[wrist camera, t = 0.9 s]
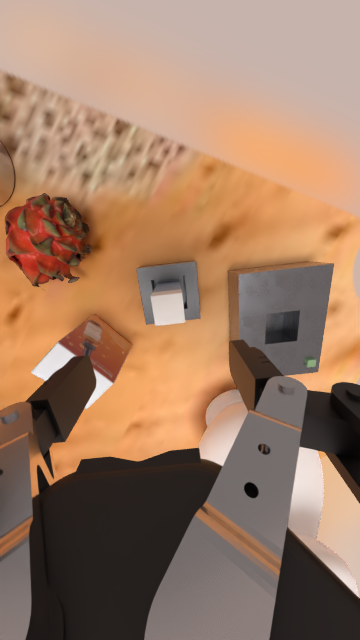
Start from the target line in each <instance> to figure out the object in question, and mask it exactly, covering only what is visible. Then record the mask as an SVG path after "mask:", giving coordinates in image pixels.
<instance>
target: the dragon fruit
mask: <svg viewBox="0 0 360 640" xmlns="http://www.w3.org/2000/svg"><path fill="white" fill-rule="evenodd" d="M68 201H69V200H67V198H62V197H54V198H53V199H52V200H51V201H50V197H49V196H48V195H47V194H46V193H44V194H42V195H40V196H37V197H31V198H29V199H27V201H26V205H24V206H22V207H15V208H13V209H12V210H10V211H9V212H8V213H7V215H6V217H5V223H6V234H8V236H7V238H6V254H7V256H8V258H9V259H10V260H12V261H13V262H15V263H16V264H17V265H18V267H19V268H20V269H21V270H22V271H23V273H24V274H25V275H26V277H27V278H28V279H29V280H30V282H31V283H32V285H33V286H37V287H39V285H38V284H44V283H47V282H48V281H49V279H52V280H54V279H56V278H58V279H60V280H61V281H63V280H64V278H63V277H62V276H61V275H58V274H57V273H59V272H61V273H62V274H63V275H64V276H65V277H66V278H69V279H70V280H69V281H68V283H72V282H75V281H77V280H78V279H79V277H78V278H77V277H74V276H72V275H71V273H70V269H69V265H70V266H78V265H79V261H82V254H88V253H90V252H91V249H92V248H91V246H90V245H88V247H87V246H85V245H84V244H83V242H82V241H81V240H82V239H84V238H85V237H86V235H87V233H88V231H89V228H88V225H87V224H85V223H83V222H82V221H81V215H80V213H79V212H78V211H77V210H76V209H75V208H73V206H71V205H70V203H69V202H68ZM37 287H36V288H37ZM43 290H44V289H43Z"/></svg>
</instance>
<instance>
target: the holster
mask: <svg viewBox="0 0 360 640" xmlns="http://www.w3.org/2000/svg"><path fill="white" fill-rule="evenodd" d="M136 270H137V276H138V281H139V287H140V293H141V298H142V304H143V310H144V315H145V321H146V325H147V324H155V321H154V315H153V309H152V303H151V295H152V293H153V291H154V289H155V287H156V285H157V283H158V282H162V281H170V280H179V279H180V284H181V289H182V296H183V306H184V315H185V320H192V319H201V318H200V305H199V292H198V279H197V267H196V261H187V262H178V263H170V264H161V265H152V266H143V267H139V268H136Z"/></svg>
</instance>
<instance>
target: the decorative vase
mask: <svg viewBox="0 0 360 640" xmlns="http://www.w3.org/2000/svg"><path fill="white" fill-rule="evenodd" d="M247 413H248V410H247V408H246V406H245V404H244V402H243V400H242V397H241V395H240V393H239V391H238V389H233V390H229V391H226V392H224V393H222V394H220V395H218V396H217V397H216V398H214V399H213V400H212V402H211V403H210V404H209V406H208V408H207V410H206V415H205V419H206V424H207V429H206V430H205V432H204V434H203V436H202V438H201V440H200V443H199V446H198V448H199V450H200V458H201V459H207V460H210V461H213V462H215V463H217V464H220V465H221V466H223V465H224V462H225V460H226V458H227V456H228V454H229V452H230V450H231V447H232V445H233V443H234V441H235V439H236V437H237V435H238V433H239V430H240V428H241V426H242V424H243V422H244V420H245V418H246V416H247ZM323 486H324V485H323V472H322V465H321V461H320V457H319V454H318V452H317V450H313V449H308V448H303V447H299V454H298V461H297V467H296V474H295V481H294V487H293V494H292V501H291V507H290V514H289V521H288V528H289V529H290V530H291V531H292V532H293V533H294V534H295V535H296V536H297V537H298V538H299V539H300V540H301V541H302V542H303V543H304V544H305V545H306V546H307V547H308V548H309V549H310V550H311V551H312V552H313V553H314V554H315V555H316V556H317V557H318V558H319V559H320V560H321V561H323V562H324V563H325V564H326V565H327V566H328V567H329V568H330V569H331V570H332V571H333V572H334V573H335V574H336V575H337V576H338V577H339V578H340V579H341V580H342V581H343V582H344V583H345V584H346V585H347V586H348V587H349V588H350V589H351V590H352V591H353V592H354V593H355V594H356V595H357V596H358V597H359V595H358V589H357V584H356V581H355V578H354V576H353V574H352V572H351V570H350V568H349V567H348V565H347V564H346V563H345V561H344V560H343V559H342V558H341V557H340V556H339V555H338V554H337V553H335V552H334V551H333V550H331V549H330V548H329V547H327V546H326V545H324V544H323V543H321V542H319V541H317V540H316V538H317V533H318V528H319V524H320V519H321V513H322V506H323V494H324V492H323V491H324V487H323Z"/></svg>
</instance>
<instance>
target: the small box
mask: <svg viewBox="0 0 360 640" xmlns="http://www.w3.org/2000/svg"><path fill="white" fill-rule="evenodd" d="M131 347H132V344H131V343H129V342H128V341H127V340H126V339H124V338H123V337H122V336H121V335H119V334H118V333H117V332H116V331H115V330H113V329H112V328H111V327H110V326H109V325H107V324H106V323H105V322H104V321H103V320H101V319H100V318H99V317H98V316H97V315H93V316H91V317H90V318H89V319H87V320H86V321H85V322H83V323H82V324H81V325H79V326H78V327H77V328H75V329H74V330H73V331H72V332H70V333H69V334H68V335H66V336H65V337H64V338H62V339H61V340H60V341H58V342H57V343H56V345H55V346H54V347H53V348H52V349H51V350H50V351H49V352H48V353H47V354H46V356H45V357H44V358H43V359H42V360H41V361H40V362H39V363H38V365H37V366H36V367H35V368H34V369H33V370H32V371H31V373H32V374H34V375H36V376H37V377H39V378H41V379H43V380H44V381H46V380H48V378H49V377H50V376H51V375H52V374H53V373H54V372H55V371H57V370H59V369H60V368H62V367H63V366H64V365H65V364H66V363H67V362H68V361H69V360H70V359H71V358H72V357H74V356H83V355H88V356H89V357H90V359H91V362H92V366H93V369H94V373H95V376H96V388H95V390H94V392H93V394H92V396H91V397H90V399H89V401H88V403H87V404H86V406H85V409H88V408H89V407H90V406H91V405H92V404H93V403H94V402H95V401H96V400H97V399H98V398H99V397H100V396H101V395H102V394H103V393H104V392H105V391H106V390H107V389H108V388H109V387H110V386H111V385H113V384H114V382H115V380H116V378H117V376H118V374H119V372H120V370H121V368H122V366H123V364H124V362H125V360H126V358H127V355H128V353H129V351H130V349H131Z"/></svg>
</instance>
